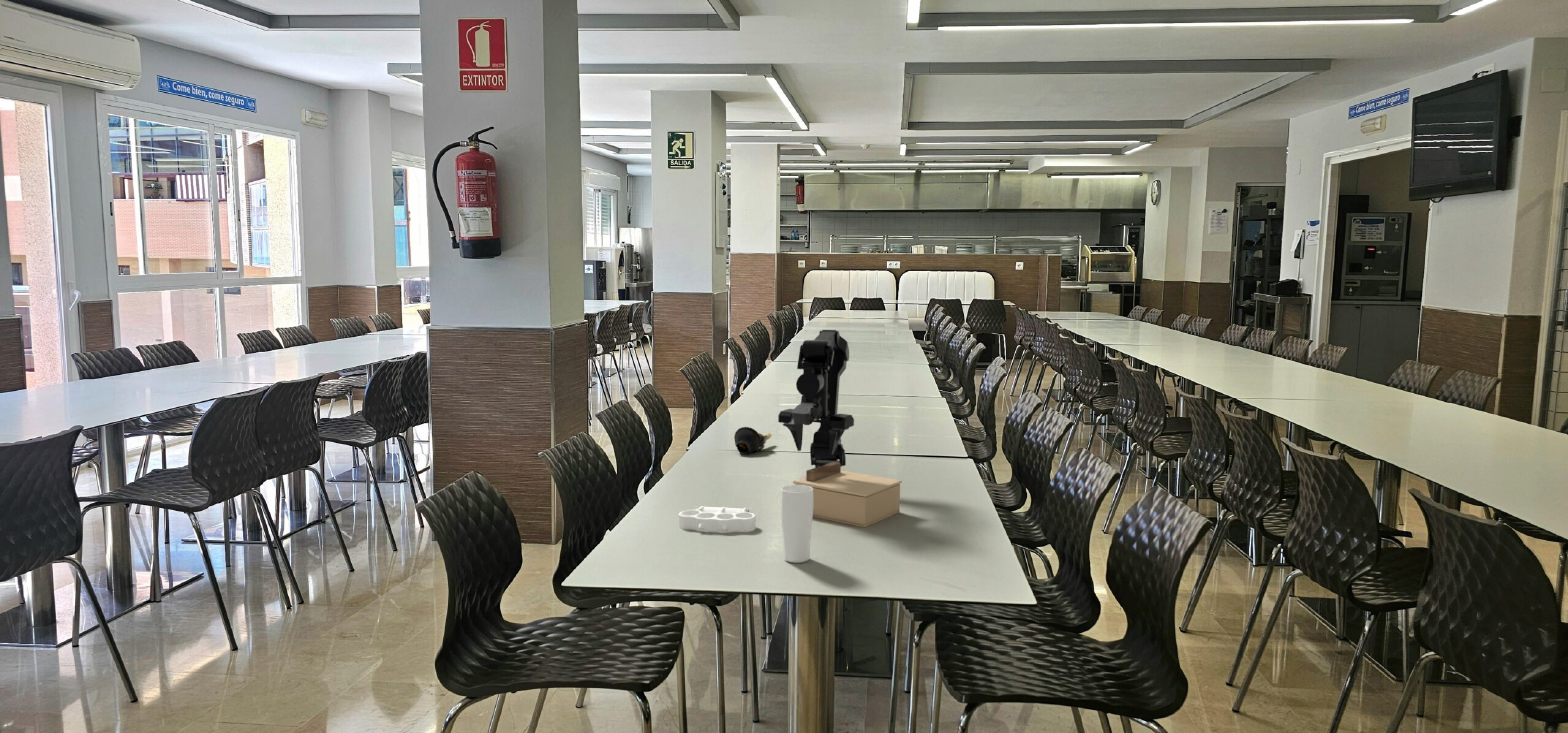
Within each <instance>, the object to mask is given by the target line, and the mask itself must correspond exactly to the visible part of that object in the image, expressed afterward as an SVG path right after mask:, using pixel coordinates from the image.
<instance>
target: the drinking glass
mask: <svg viewBox="0 0 1568 733" xmlns="http://www.w3.org/2000/svg"><path fill="white" fill-rule="evenodd" d="M813 508H814V494H813V488H812V487H810V486H806V485H795V484H788V485H784V486H782V487H781V488H780V517H781V518H780V520H781V528H782V543H783V558H784V560H785V561H786V562H789V563H795V564H802V563H806V562H808V561H809V560H810V558H811V539H812V530H813V520H814V519H813V518H814V517H813Z"/></svg>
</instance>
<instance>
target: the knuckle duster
mask: <svg viewBox="0 0 1568 733" xmlns="http://www.w3.org/2000/svg"><path fill="white" fill-rule="evenodd" d="M756 516H757V515H756V514H754V513H752V512H750V509H749V508H748V507H743V508H739V507H738V508H737V507H736V508H735V507H726V506H722V507H717V506H716V507H715V506H705V505H701V506H699V507H698V508H696V509H695V508H694V509H688V510H682V511H680V512H679V513H678V528H679V529H683V530H692V531H693V530H694V531H697V532H699V533H701V532H702V533H717V534H718V533H719V534H726V533H727V534H729V533H749V532H750V533H751V532H753V531H755V530H756V529H757V527H756V526H757V524H756V523H757V522H756V521H757V520H756V519H757V518H756Z"/></svg>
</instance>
